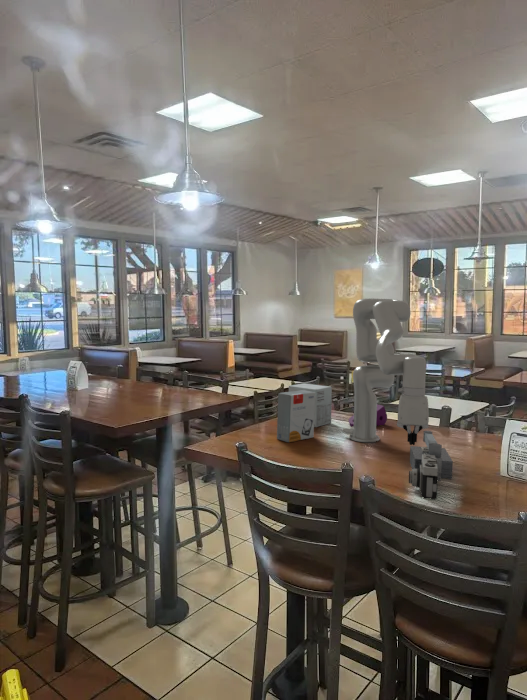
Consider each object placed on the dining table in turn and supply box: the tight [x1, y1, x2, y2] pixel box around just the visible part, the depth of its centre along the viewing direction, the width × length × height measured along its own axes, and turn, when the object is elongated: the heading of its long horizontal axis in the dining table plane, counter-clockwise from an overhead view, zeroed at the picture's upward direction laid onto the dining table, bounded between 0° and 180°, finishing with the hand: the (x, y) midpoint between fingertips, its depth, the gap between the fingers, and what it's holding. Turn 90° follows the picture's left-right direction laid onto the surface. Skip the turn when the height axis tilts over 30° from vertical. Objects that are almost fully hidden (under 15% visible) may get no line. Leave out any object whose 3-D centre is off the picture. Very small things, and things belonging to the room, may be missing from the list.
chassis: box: [409, 445, 454, 482], centre depth 173 cm, size 12×19×8 cm, turn 169°
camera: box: [408, 454, 438, 500], centre depth 155 cm, size 14×8×10 cm, turn 164°
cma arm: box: [422, 430, 443, 457], centre depth 173 cm, size 4×21×4 cm, turn 169°
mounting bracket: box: [348, 403, 388, 428], centre depth 241 cm, size 9×8×18 cm
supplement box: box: [288, 383, 333, 428], centre depth 243 cm, size 17×13×18 cm
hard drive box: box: [276, 390, 315, 443], centre depth 214 cm, size 16×8×20 cm, turn 131°
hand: (411, 443), depth 175 cm, fingers closed
